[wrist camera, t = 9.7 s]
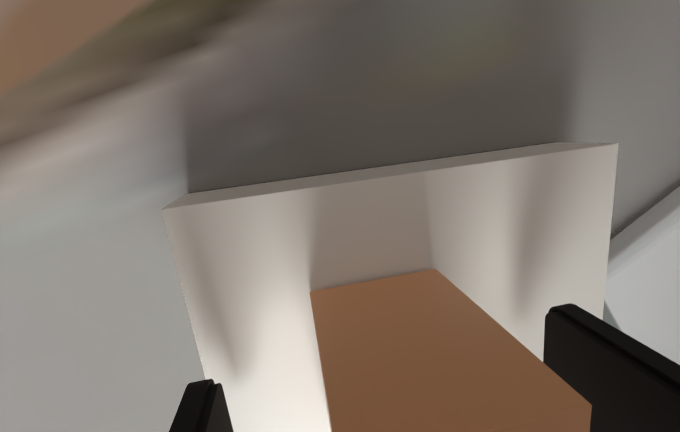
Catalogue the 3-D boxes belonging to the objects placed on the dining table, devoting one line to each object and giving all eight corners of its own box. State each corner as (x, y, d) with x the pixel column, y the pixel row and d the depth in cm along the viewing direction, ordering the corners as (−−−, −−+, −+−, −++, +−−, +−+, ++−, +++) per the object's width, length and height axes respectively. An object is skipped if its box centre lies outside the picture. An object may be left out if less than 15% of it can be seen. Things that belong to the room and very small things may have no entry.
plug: (407, 243, 13) (592, 404, 5) (415, 354, 14) (572, 617, 6) (304, 261, 12) (338, 470, 5) (321, 375, 14) (371, 687, 6)
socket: (557, 142, 13) (618, 143, 11) (546, 377, 16) (593, 420, 13) (187, 193, 11) (161, 209, 9) (248, 448, 14) (240, 512, 12)
